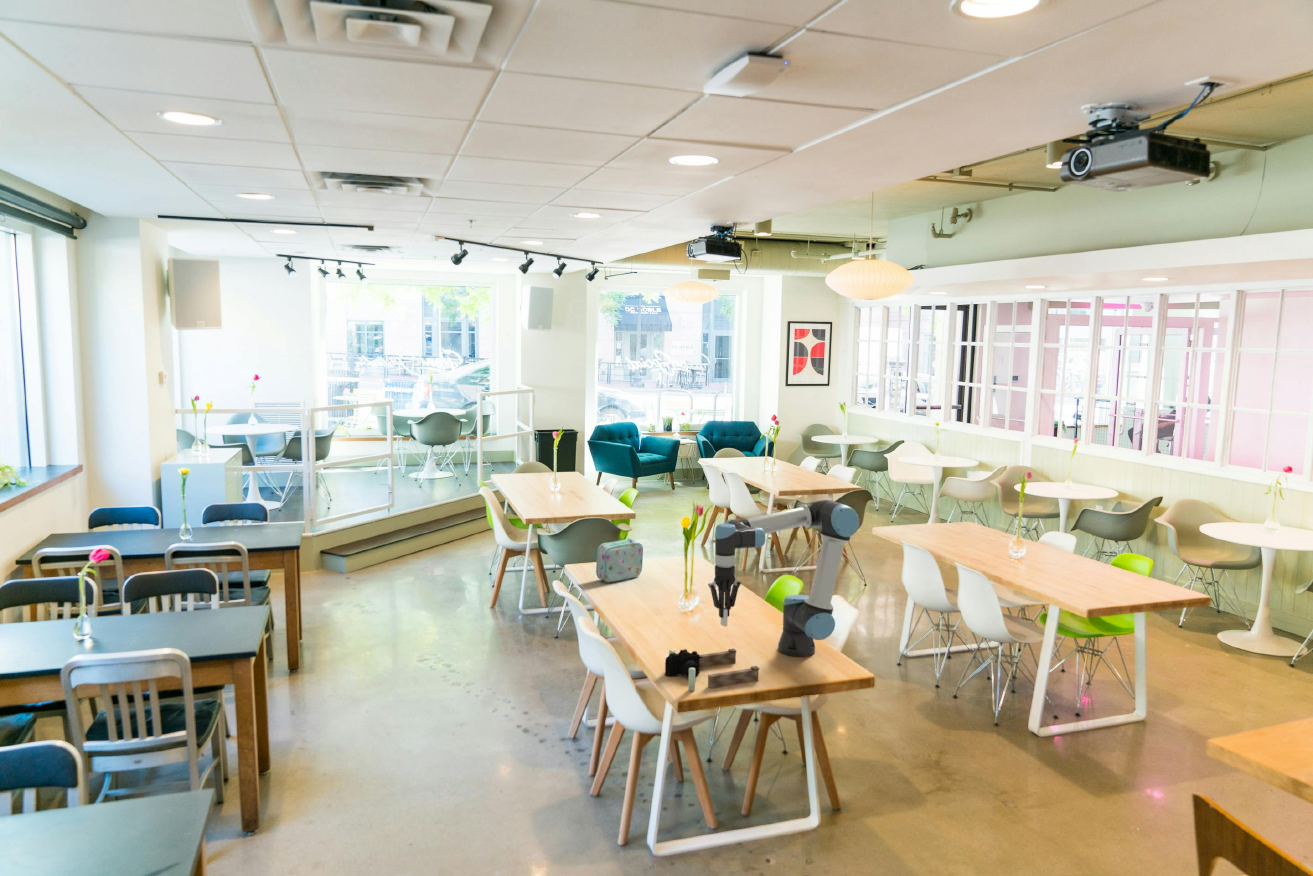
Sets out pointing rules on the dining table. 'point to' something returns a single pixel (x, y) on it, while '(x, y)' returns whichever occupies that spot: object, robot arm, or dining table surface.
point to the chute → (727, 677)
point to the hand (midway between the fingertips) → (724, 625)
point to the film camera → (682, 663)
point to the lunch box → (619, 560)
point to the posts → (691, 675)
